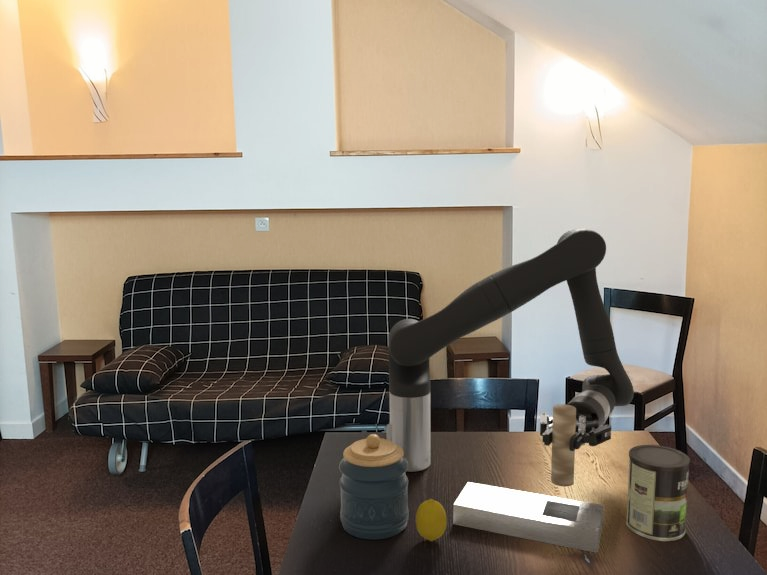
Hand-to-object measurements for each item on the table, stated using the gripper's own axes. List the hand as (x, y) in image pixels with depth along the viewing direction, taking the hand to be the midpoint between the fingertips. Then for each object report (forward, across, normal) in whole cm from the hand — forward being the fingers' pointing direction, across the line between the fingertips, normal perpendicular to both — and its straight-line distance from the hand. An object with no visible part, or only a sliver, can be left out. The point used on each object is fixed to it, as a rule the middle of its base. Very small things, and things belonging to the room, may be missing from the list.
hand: (558, 442), depth 115 cm
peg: (-3, 0, +8) cm, 9 cm away
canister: (+13, -31, +18) cm, 38 cm away
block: (-1, -6, +18) cm, 19 cm away
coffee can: (-13, +14, +18) cm, 27 cm away
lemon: (+13, -19, +18) cm, 29 cm away
